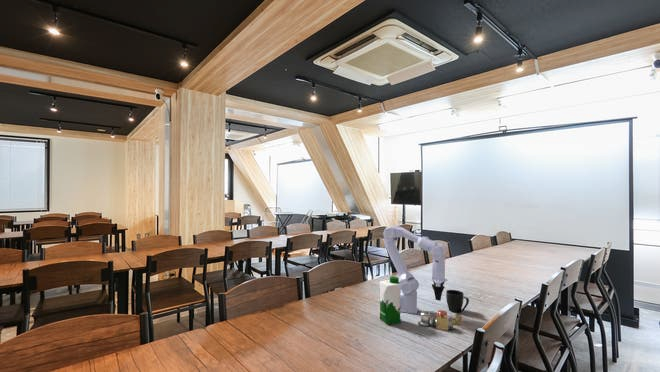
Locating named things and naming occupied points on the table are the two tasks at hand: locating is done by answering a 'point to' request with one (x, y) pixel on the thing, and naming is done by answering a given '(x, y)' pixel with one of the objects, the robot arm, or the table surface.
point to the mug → (456, 301)
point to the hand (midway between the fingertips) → (438, 297)
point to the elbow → (457, 320)
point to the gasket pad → (423, 325)
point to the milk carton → (390, 301)
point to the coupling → (425, 318)
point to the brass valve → (442, 321)
